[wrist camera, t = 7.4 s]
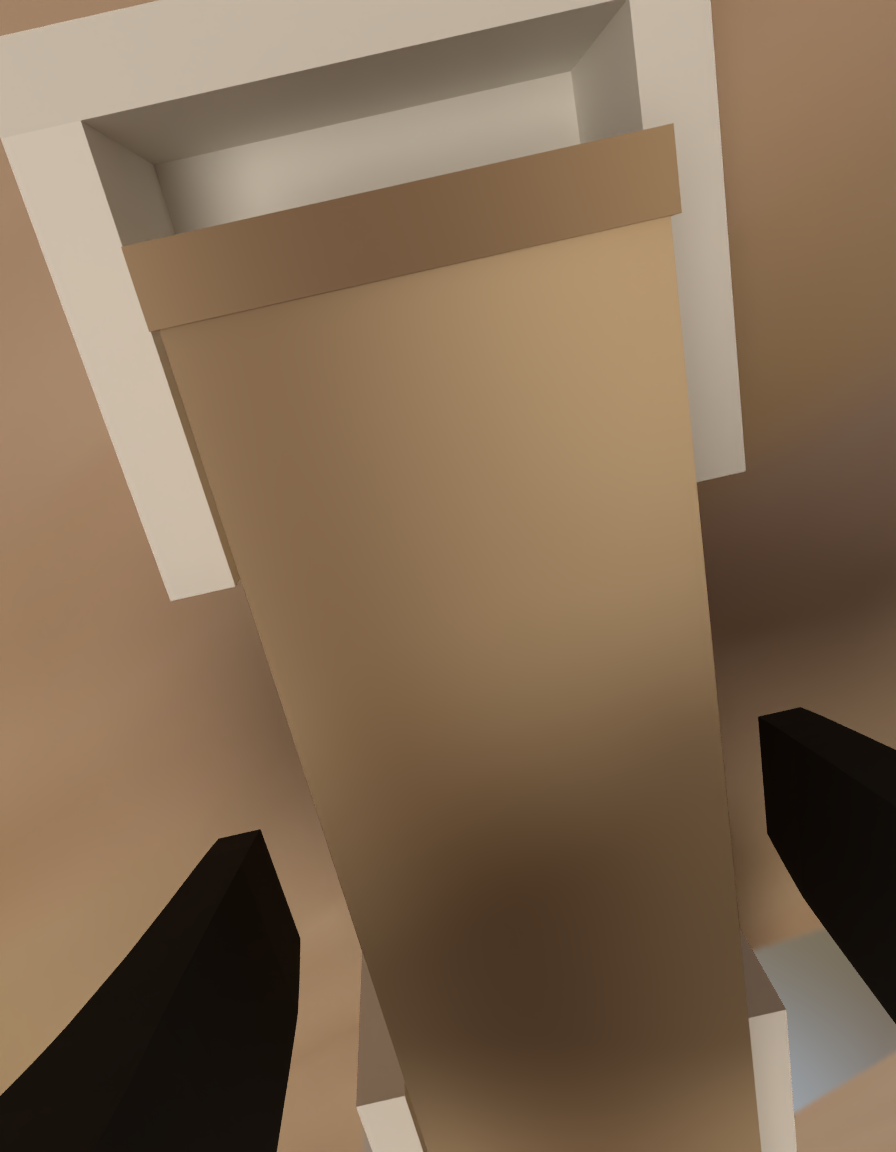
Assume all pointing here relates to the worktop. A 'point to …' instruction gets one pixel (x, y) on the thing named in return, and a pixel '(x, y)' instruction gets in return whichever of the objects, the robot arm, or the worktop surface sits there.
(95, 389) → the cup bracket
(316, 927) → the worktop surface
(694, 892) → the oak rail
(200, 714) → the worktop surface
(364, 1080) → the cup bracket
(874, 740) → the robot arm
